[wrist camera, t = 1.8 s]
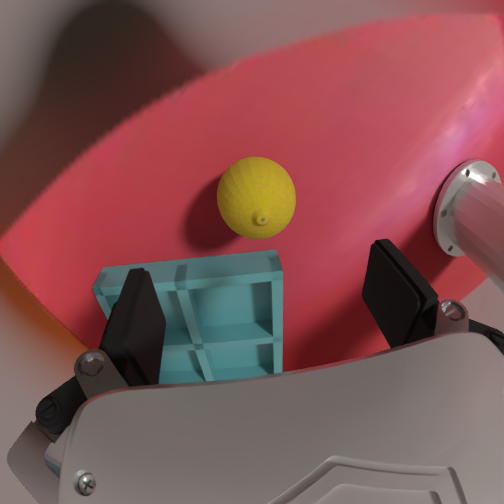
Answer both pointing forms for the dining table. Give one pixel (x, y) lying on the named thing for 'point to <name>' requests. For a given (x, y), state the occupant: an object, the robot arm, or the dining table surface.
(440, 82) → the dining table surface
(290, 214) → the lemon
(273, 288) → the square compartment tray
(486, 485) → the robot arm
